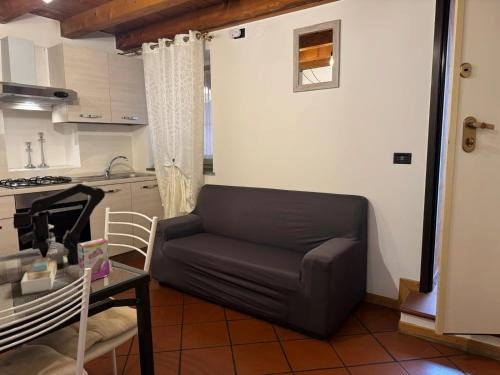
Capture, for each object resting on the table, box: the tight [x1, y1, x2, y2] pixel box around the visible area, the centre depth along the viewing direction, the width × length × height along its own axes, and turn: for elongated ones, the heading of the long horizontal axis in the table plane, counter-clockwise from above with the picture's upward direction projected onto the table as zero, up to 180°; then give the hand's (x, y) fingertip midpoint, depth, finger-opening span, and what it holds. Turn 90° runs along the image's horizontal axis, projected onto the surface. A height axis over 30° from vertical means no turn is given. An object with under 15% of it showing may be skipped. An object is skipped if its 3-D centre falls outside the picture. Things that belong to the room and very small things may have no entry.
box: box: [20, 269, 55, 295], centre depth 140 cm, size 10×11×5 cm
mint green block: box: [33, 261, 48, 272], centre depth 148 cm, size 5×5×2 cm
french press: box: [32, 223, 58, 255], centre depth 181 cm, size 10×12×25 cm
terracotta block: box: [34, 256, 51, 266], centre depth 154 cm, size 5×5×2 cm
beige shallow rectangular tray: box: [26, 258, 58, 281], centre depth 152 cm, size 10×16×4 cm, turn 25°
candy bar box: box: [77, 238, 110, 281], centre depth 146 cm, size 11×5×16 cm, turn 141°
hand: (44, 258), depth 160 cm, fingers closed
